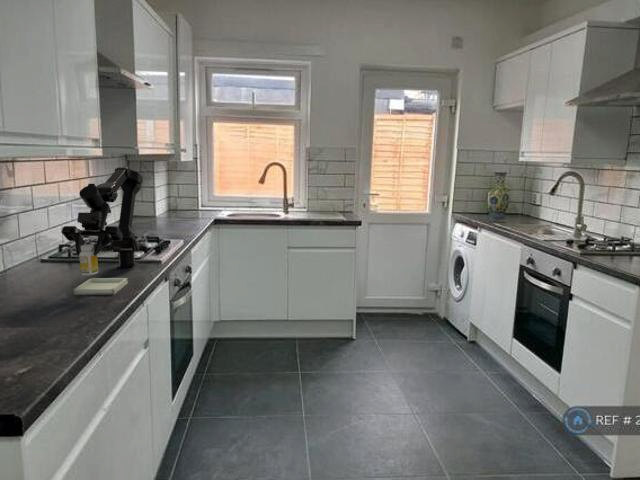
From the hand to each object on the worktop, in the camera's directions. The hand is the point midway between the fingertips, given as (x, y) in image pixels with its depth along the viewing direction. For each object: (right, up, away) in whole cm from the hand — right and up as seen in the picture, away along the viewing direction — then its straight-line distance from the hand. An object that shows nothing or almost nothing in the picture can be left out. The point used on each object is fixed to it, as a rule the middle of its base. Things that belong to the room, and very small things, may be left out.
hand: (86, 254), depth 160 cm
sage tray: (+3, -12, +5) cm, 13 cm away
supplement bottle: (0, -7, +3) cm, 7 cm away
